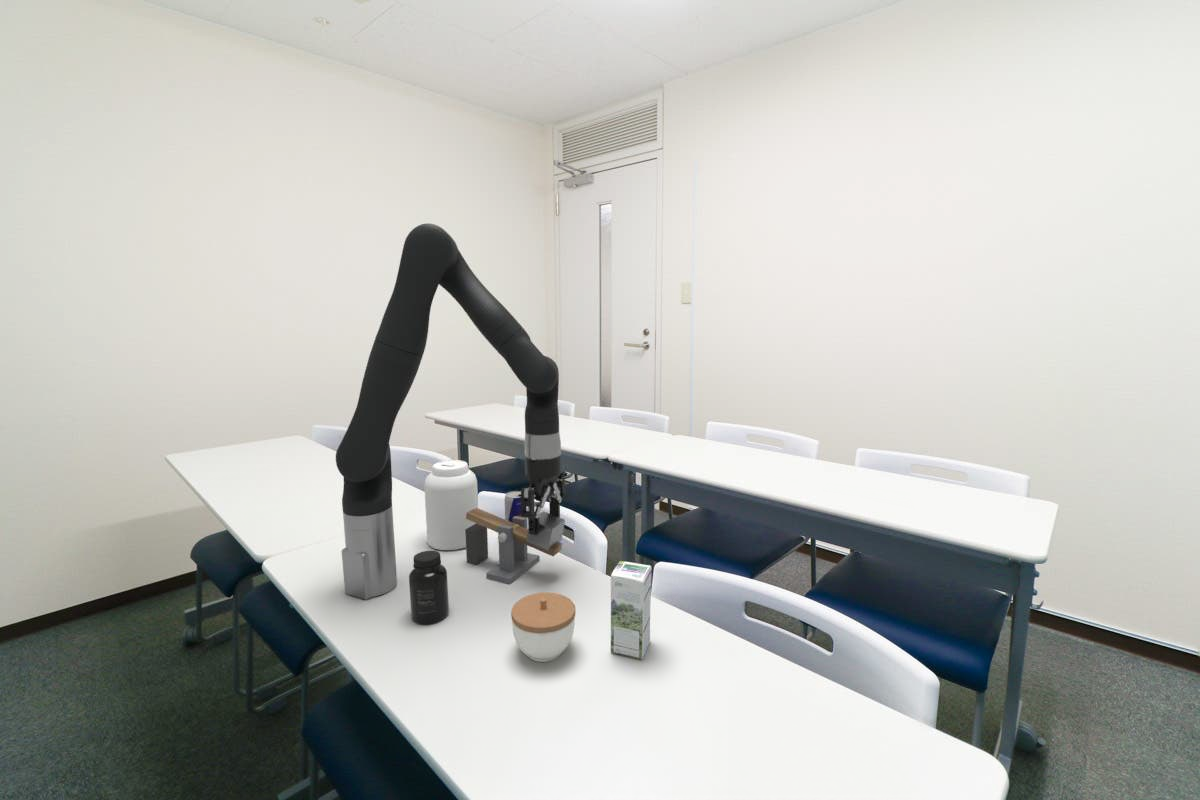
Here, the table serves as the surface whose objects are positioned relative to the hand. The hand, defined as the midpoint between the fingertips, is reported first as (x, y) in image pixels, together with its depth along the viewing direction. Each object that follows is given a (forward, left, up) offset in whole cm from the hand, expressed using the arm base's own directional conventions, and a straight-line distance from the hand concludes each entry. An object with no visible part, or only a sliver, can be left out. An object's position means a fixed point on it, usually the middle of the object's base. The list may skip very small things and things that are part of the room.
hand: (544, 526), depth 115 cm
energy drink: (+13, +16, -12) cm, 24 cm away
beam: (0, +8, -3) cm, 8 cm away
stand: (0, +12, -11) cm, 17 cm away
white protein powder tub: (+6, +30, -12) cm, 33 cm away
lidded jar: (-22, -13, -12) cm, 28 cm away
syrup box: (-15, -26, -12) cm, 32 cm away
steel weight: (0, 0, -3) cm, 3 cm away
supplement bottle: (-22, +12, -12) cm, 28 cm away
